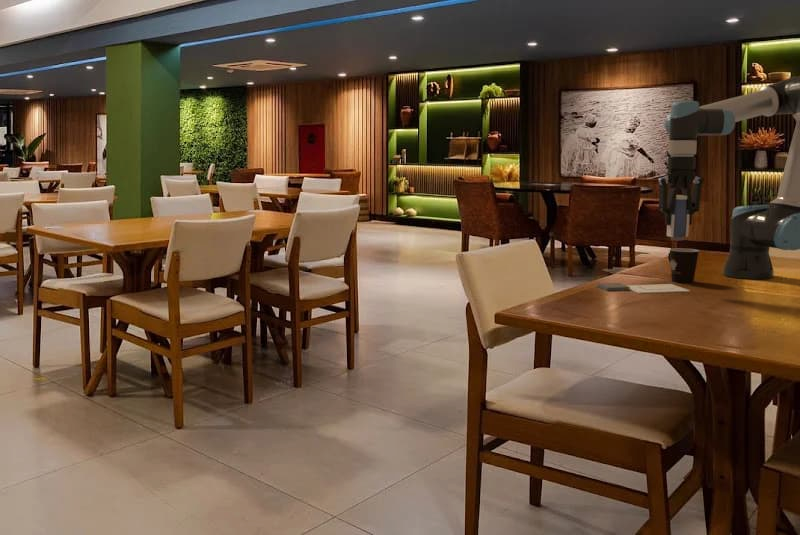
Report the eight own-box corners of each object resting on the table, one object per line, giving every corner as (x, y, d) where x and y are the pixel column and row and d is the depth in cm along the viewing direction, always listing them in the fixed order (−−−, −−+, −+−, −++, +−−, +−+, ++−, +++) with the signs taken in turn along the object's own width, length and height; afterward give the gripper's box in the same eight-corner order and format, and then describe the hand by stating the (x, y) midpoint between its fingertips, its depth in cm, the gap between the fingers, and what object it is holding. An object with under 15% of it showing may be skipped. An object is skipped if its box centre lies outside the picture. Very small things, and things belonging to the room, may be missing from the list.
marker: (680, 239, 225) (682, 195, 223) (687, 240, 221) (690, 196, 219) (666, 239, 224) (669, 195, 222) (674, 240, 220) (676, 196, 218)
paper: (671, 285, 233) (671, 283, 233) (690, 291, 222) (690, 290, 222) (622, 286, 230) (622, 285, 230) (638, 293, 220) (639, 292, 220)
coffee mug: (699, 284, 234) (701, 252, 232) (670, 283, 236) (671, 251, 234) (692, 278, 245) (694, 247, 244) (664, 277, 247) (666, 246, 245)
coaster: (619, 286, 231) (619, 282, 231) (629, 290, 225) (629, 287, 224) (597, 286, 230) (597, 283, 230) (607, 291, 223) (607, 287, 223)
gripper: (702, 155, 224) (697, 234, 228) (648, 155, 221) (644, 235, 225) (716, 155, 217) (711, 237, 220) (660, 155, 214) (656, 238, 218)
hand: (677, 236), depth 223 cm, fingers closed on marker, 4 cm apart
